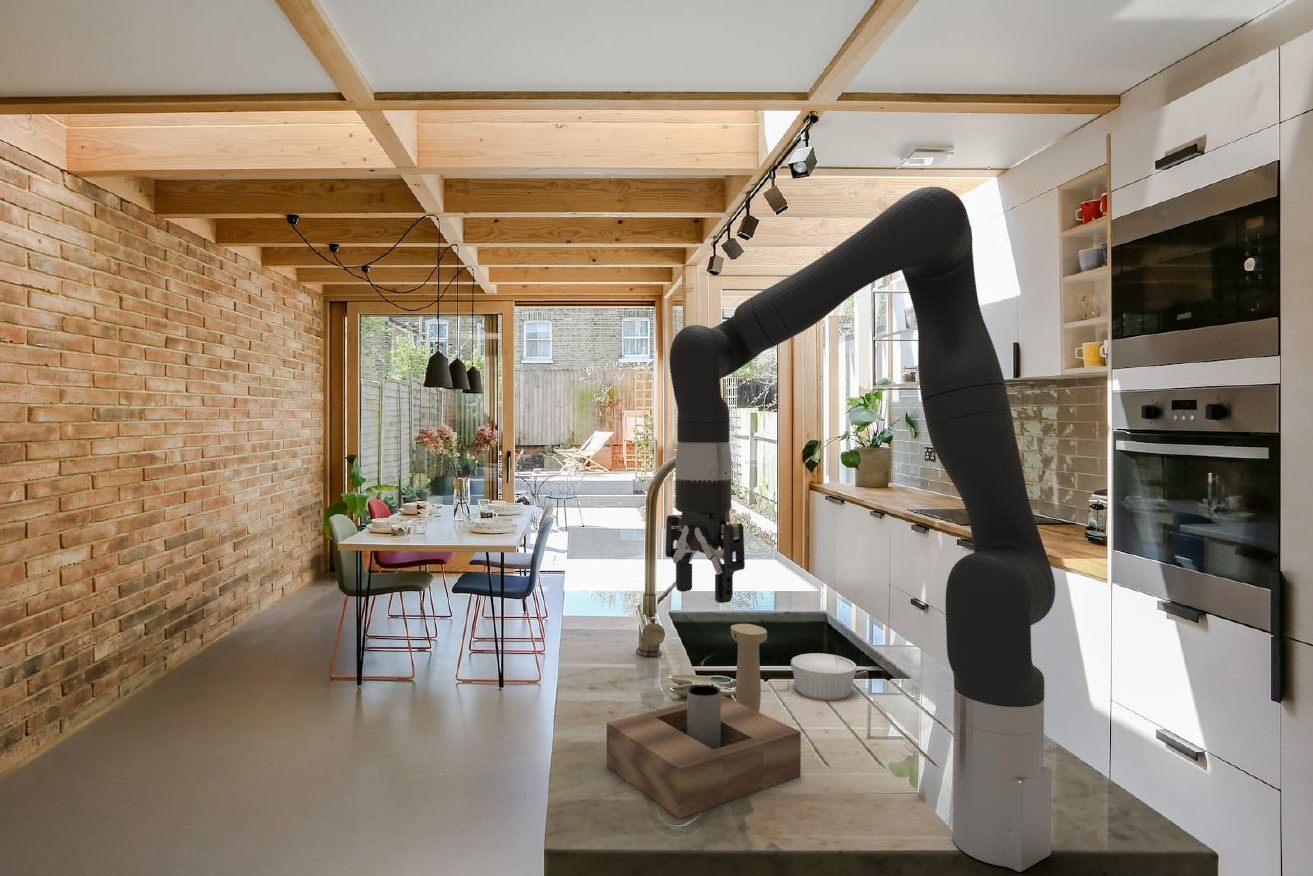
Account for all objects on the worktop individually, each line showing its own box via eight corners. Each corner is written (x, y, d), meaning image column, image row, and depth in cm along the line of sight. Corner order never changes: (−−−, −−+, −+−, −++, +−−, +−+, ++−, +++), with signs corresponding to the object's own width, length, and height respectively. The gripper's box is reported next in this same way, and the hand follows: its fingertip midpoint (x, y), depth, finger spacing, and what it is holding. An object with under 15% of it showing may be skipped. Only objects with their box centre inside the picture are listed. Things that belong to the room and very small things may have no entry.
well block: (800, 776, 103) (800, 731, 103) (679, 818, 92) (679, 768, 92) (720, 733, 117) (720, 694, 117) (606, 766, 106) (606, 722, 106)
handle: (745, 734, 117) (746, 635, 117) (724, 719, 123) (724, 625, 123) (772, 729, 119) (773, 632, 119) (749, 714, 125) (750, 622, 125)
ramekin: (869, 698, 133) (869, 668, 133) (814, 707, 129) (814, 675, 129) (831, 678, 144) (831, 650, 143) (779, 685, 139) (779, 656, 139)
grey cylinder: (699, 755, 108) (700, 682, 108) (726, 764, 105) (727, 689, 105) (680, 766, 104) (680, 690, 104) (707, 776, 101) (708, 698, 101)
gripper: (759, 478, 100) (759, 602, 100) (693, 472, 112) (693, 584, 112) (714, 480, 96) (714, 610, 96) (650, 474, 108) (650, 590, 108)
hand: (703, 596), depth 104 cm, fingers open, 8 cm apart
